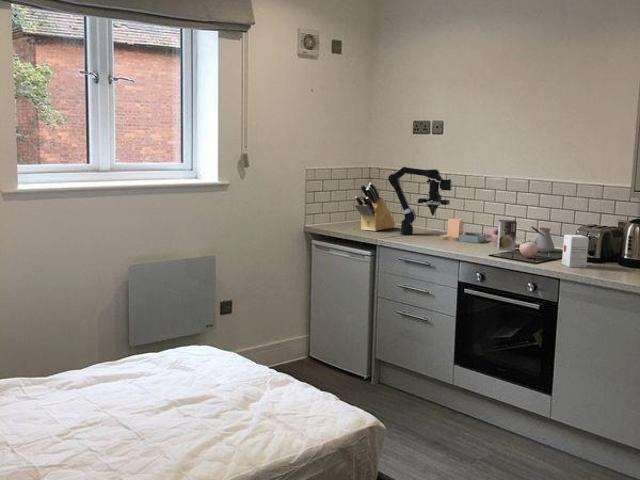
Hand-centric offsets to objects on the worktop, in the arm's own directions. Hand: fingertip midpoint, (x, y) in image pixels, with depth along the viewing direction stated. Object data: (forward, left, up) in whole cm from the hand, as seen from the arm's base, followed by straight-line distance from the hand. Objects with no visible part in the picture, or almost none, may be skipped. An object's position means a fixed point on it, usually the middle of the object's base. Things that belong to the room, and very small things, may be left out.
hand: (433, 215), depth 437 cm
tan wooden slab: (+7, -12, -13) cm, 19 cm away
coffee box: (+16, -52, -13) cm, 56 cm away
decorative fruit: (+9, -80, -13) cm, 81 cm away
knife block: (-22, +34, -13) cm, 43 cm away
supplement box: (+18, -103, -13) cm, 105 cm away
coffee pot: (+28, -65, -13) cm, 72 cm away
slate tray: (+14, -22, -13) cm, 29 cm away
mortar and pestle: (+22, -40, -13) cm, 47 cm away
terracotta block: (+8, -13, -11) cm, 19 cm away
